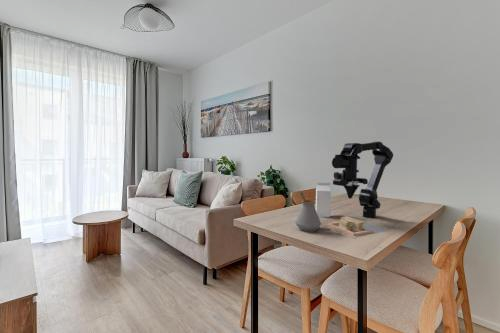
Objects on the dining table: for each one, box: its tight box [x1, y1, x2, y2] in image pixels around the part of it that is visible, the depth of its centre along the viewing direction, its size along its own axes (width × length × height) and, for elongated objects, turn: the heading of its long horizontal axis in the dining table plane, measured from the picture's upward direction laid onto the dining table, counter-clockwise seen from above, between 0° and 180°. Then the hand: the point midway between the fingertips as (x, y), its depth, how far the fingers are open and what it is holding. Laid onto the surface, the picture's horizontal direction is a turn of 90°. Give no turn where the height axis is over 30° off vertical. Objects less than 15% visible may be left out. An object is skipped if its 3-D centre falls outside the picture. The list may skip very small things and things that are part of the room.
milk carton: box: [315, 181, 332, 219], centre depth 135 cm, size 7×7×19 cm
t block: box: [338, 216, 366, 232], centre depth 110 cm, size 8×10×4 cm
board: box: [325, 221, 389, 239], centre depth 113 cm, size 21×18×2 cm
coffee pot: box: [295, 191, 322, 232], centre depth 118 cm, size 21×12×15 cm, turn 2°
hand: (349, 198), depth 125 cm, fingers closed
